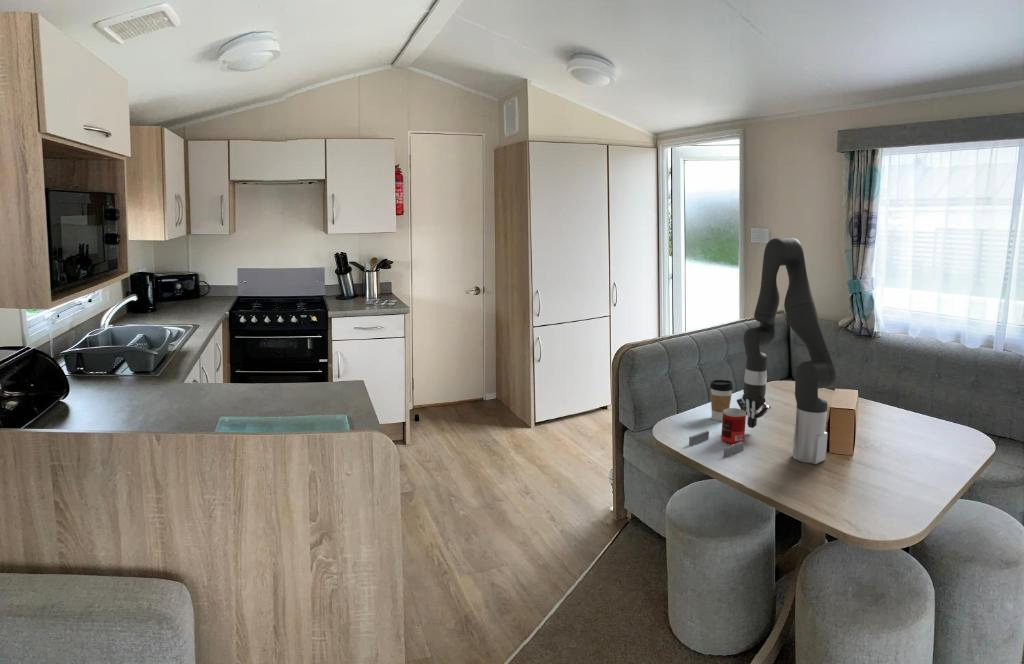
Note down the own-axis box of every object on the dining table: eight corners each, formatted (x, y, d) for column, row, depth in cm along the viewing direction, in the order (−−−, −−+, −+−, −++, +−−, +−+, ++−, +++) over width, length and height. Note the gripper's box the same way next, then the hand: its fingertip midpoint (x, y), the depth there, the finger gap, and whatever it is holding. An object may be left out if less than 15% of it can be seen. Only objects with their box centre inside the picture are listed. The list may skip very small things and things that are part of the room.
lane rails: (743, 450, 240) (743, 442, 239) (726, 457, 234) (726, 449, 233) (706, 438, 251) (706, 430, 251) (688, 445, 245) (689, 436, 244)
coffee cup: (726, 423, 266) (728, 385, 263) (705, 419, 271) (707, 382, 268) (734, 417, 273) (736, 380, 270) (713, 413, 278) (715, 377, 275)
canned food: (746, 439, 250) (748, 410, 248) (740, 446, 243) (742, 416, 241) (724, 435, 254) (726, 406, 252) (718, 442, 247) (720, 412, 245)
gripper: (777, 383, 249) (773, 429, 253) (744, 375, 259) (741, 420, 263) (766, 387, 245) (762, 434, 249) (733, 379, 255) (729, 424, 259)
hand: (751, 427), depth 256 cm, fingers closed
